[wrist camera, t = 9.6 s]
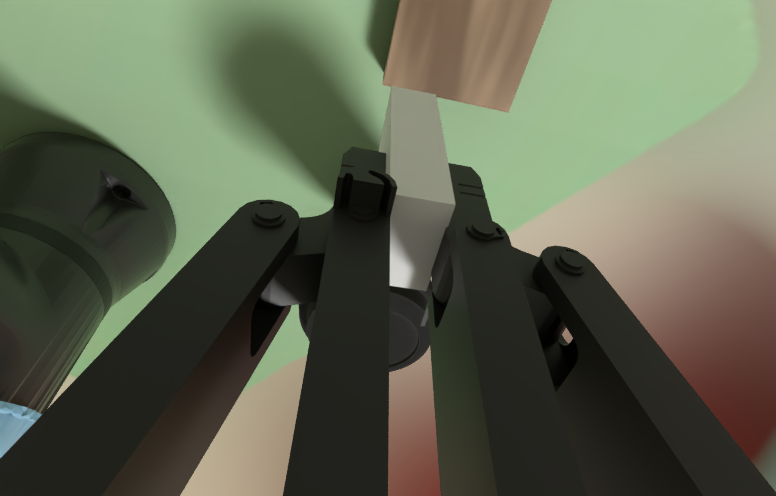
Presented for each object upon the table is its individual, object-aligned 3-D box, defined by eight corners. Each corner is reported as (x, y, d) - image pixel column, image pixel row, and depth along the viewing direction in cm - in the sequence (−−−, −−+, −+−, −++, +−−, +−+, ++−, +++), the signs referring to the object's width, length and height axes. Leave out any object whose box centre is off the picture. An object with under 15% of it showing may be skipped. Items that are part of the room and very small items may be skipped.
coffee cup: (370, 130, 37) (357, 252, 26) (455, 198, 41) (477, 331, 29) (301, 206, 42) (264, 339, 30) (383, 261, 46) (378, 397, 34)
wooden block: (382, 84, 32) (508, 112, 34) (419, -92, 26) (571, -51, 27) (384, 70, 35) (501, 96, 36) (417, -95, 29) (558, -58, 30)
